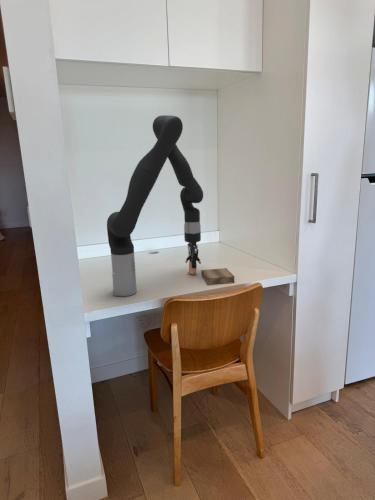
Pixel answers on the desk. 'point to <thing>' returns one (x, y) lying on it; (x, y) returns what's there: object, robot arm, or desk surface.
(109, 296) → the desk surface
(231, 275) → the walnut plinth
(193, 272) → the grandmother figurine
